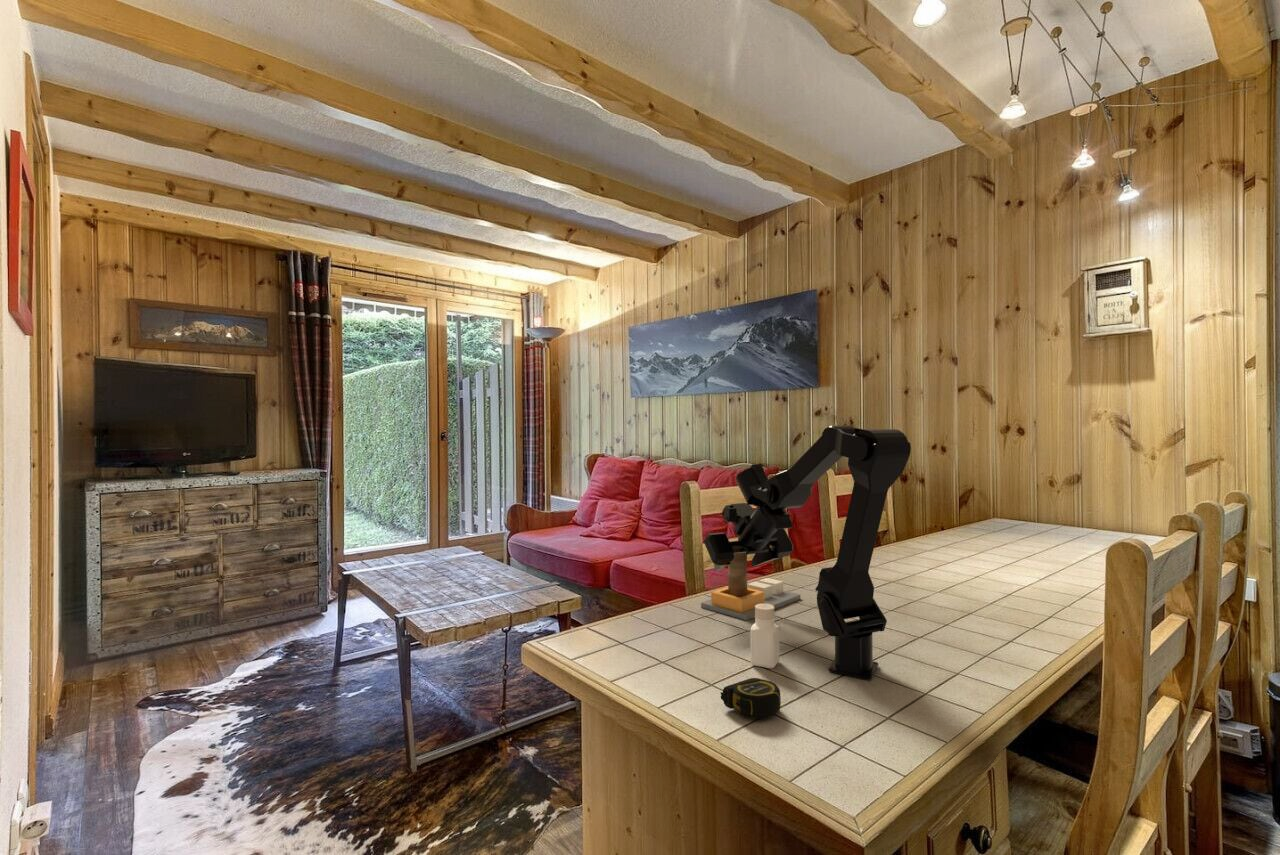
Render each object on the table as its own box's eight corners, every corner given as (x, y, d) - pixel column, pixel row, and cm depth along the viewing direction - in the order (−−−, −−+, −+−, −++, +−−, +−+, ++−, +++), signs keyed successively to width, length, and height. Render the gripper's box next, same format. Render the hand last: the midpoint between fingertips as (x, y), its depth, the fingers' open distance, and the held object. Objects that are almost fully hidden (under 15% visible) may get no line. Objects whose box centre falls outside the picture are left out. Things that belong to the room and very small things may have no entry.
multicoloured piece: (746, 620, 119) (746, 603, 119) (701, 607, 128) (700, 591, 128) (800, 598, 133) (800, 583, 133) (755, 588, 141) (755, 573, 141)
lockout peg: (739, 607, 124) (738, 547, 124) (724, 603, 127) (724, 545, 127) (751, 603, 127) (750, 545, 126) (736, 599, 130) (736, 542, 129)
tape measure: (757, 696, 87) (756, 671, 87) (791, 716, 81) (791, 689, 81) (720, 709, 83) (720, 682, 83) (753, 730, 77) (753, 702, 77)
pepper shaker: (756, 657, 101) (756, 601, 100) (780, 661, 99) (779, 604, 99) (749, 666, 97) (749, 608, 97) (774, 670, 95) (773, 611, 95)
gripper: (784, 489, 126) (755, 532, 137) (707, 494, 119) (683, 539, 129) (808, 532, 119) (776, 574, 130) (728, 541, 112) (701, 584, 122)
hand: (734, 566), depth 128 cm, fingers open, 9 cm apart
